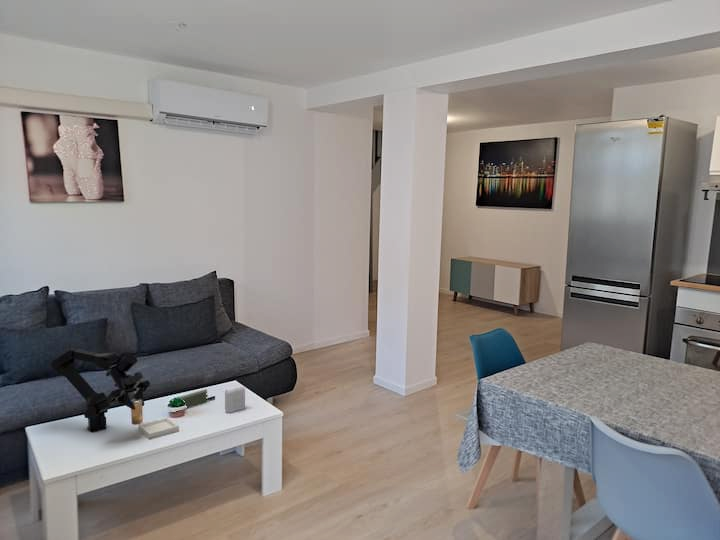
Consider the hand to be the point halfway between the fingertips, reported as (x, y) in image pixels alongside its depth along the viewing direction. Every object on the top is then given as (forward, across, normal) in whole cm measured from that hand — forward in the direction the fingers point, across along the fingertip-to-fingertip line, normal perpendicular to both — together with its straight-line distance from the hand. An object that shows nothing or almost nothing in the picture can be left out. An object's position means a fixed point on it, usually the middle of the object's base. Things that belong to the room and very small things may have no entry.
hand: (138, 407), depth 226 cm
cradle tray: (+10, +10, +9) cm, 17 cm away
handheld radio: (+4, +39, +16) cm, 43 cm away
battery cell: (+4, 0, +6) cm, 7 cm away
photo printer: (+19, +45, +1) cm, 49 cm away
